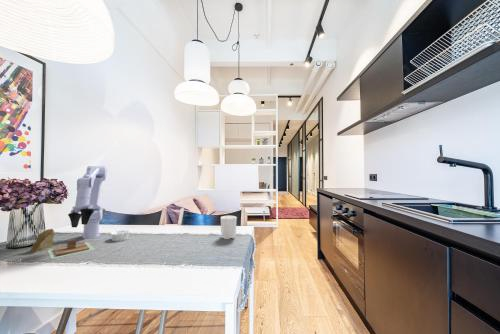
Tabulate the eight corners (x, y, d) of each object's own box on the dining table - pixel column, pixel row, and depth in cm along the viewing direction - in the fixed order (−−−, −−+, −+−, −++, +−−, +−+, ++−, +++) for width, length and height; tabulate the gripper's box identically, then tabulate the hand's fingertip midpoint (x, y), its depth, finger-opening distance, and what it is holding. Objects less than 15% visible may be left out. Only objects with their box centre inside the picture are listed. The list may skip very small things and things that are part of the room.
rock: (33, 250, 99) (59, 241, 108) (26, 235, 100) (52, 227, 109) (27, 260, 103) (53, 251, 112) (20, 245, 105) (46, 237, 114)
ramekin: (108, 242, 118) (108, 234, 118) (114, 237, 126) (114, 230, 126) (126, 241, 120) (126, 233, 120) (130, 236, 129) (130, 229, 129)
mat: (47, 250, 105) (47, 249, 105) (87, 242, 117) (87, 242, 117) (51, 259, 94) (51, 259, 94) (94, 250, 106) (94, 249, 106)
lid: (53, 249, 105) (53, 240, 105) (83, 243, 114) (84, 234, 114) (56, 256, 97) (56, 245, 97) (89, 249, 106) (89, 239, 106)
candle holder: (217, 238, 125) (217, 218, 126) (224, 234, 135) (224, 215, 135) (233, 240, 123) (233, 219, 123) (238, 235, 132) (239, 216, 132)
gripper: (65, 201, 111) (60, 228, 106) (84, 194, 106) (80, 222, 101) (80, 203, 117) (76, 228, 112) (98, 197, 112) (95, 223, 107)
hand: (79, 225), depth 107 cm, fingers open, 7 cm apart
